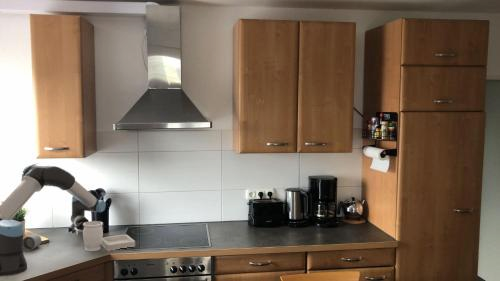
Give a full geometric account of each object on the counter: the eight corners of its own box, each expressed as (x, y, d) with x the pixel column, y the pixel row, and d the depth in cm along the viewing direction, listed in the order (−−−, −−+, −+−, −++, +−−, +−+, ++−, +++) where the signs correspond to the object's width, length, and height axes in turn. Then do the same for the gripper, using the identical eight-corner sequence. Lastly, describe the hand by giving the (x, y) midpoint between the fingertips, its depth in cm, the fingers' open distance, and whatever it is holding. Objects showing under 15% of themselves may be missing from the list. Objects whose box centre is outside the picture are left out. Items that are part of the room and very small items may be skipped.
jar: (106, 248, 246) (107, 222, 245) (93, 253, 236) (93, 226, 235) (92, 245, 250) (92, 219, 249) (78, 250, 241) (78, 223, 240)
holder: (107, 251, 241) (107, 245, 240) (100, 243, 254) (100, 237, 254) (135, 247, 249) (135, 241, 249) (126, 239, 263) (126, 234, 262)
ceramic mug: (42, 246, 247) (42, 232, 246) (35, 250, 239) (34, 236, 238) (24, 245, 247) (23, 232, 246) (16, 250, 239) (15, 236, 238)
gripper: (102, 226, 275) (111, 234, 257) (59, 231, 261) (66, 240, 243) (102, 214, 274) (111, 222, 256) (59, 219, 260) (66, 227, 243)
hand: (89, 231), depth 250 cm, fingers open, 13 cm apart
